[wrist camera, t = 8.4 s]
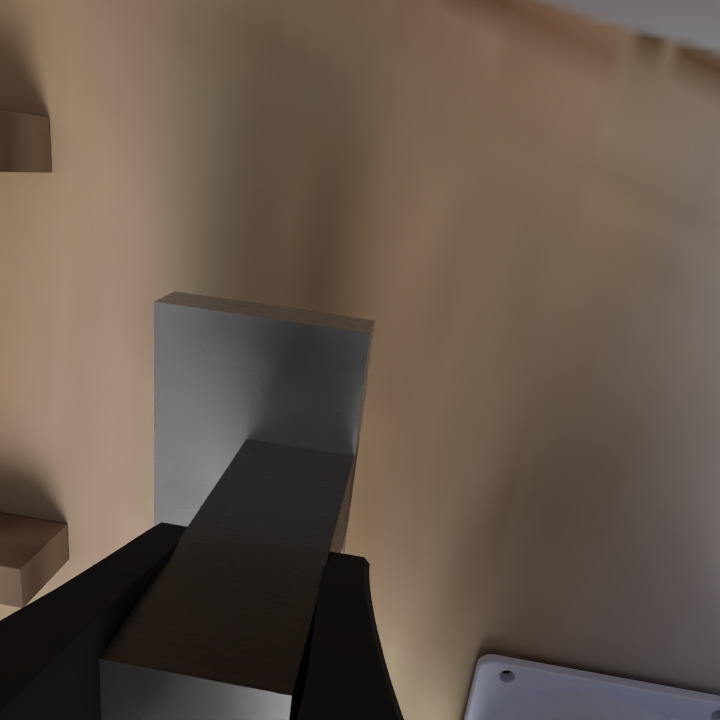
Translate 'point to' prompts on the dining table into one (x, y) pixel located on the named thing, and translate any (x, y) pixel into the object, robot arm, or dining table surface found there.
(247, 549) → the grey block
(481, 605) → the dining table surface
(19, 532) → the frame
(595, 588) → the dining table surface
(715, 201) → the dining table surface
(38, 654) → the robot arm
